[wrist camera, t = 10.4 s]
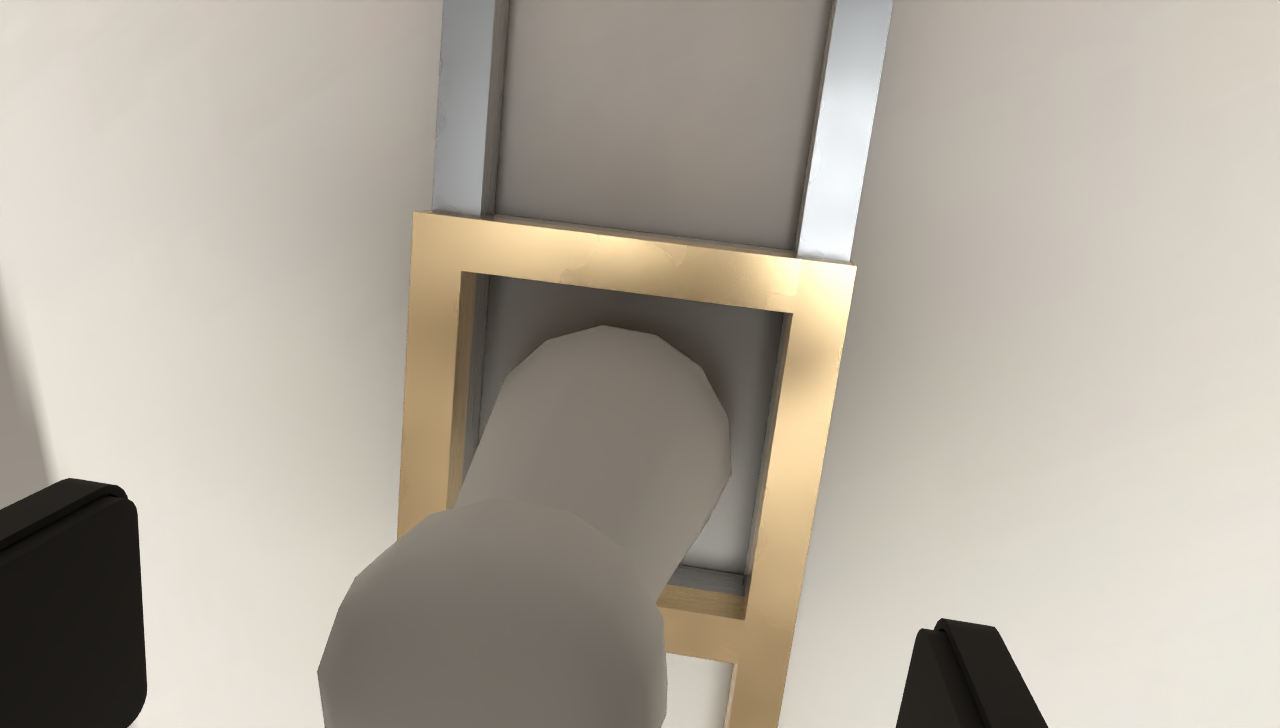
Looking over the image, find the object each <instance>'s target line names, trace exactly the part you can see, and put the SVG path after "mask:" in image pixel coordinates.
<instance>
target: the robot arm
mask: <svg viewBox="0 0 1280 728" xmlns="http://www.w3.org/2000/svg"><path fill="white" fill-rule="evenodd" d="M146 695H147V676H146V658H145V640H144V622H143V604H142V586H141V568H140V550H139V532H138V514H137V509H136V506H135V505H134V503H133V502H132V501H130V500H129V499H128V497H127V495H126V493H125V491H124V490H123V489H122V488H120V487H119V486H117V485H111V484H105V483H99V482H93V481H87V480H80V479H73V478H68V479H65V480H61V481H59V482H57V483H55V484H53V485H51V486H49V487H46V488H44V489H42V490H40V491H38V492H36V493H34V494H32V495H30V496H28V497H26V498H24V499H22V500H20V501H18V502H15V503H14V504H11V505H9V506H7V507H5V508H3V509H1V510H0V728H127V727H129V726H130V725H131V724H132V723H133V721H134V720H135V719H136V718H137V716H138V715H139V713H140V712H141V710H142V707H143V705H144V703H145V699H146ZM896 728H1048V726H1047V724H1046V722H1045V720H1044V718H1043V716H1042V715H1041V713H1040V711H1039V709H1038V707H1037V705H1036V703H1035V701H1034V699H1033V697H1032V695H1031V693H1030V691H1029V690H1028V688H1027V686H1026V684H1025V682H1024V680H1023V678H1022V676H1021V674H1020V672H1019V670H1018V668H1017V666H1016V665H1015V663H1014V661H1013V659H1012V657H1011V655H1010V653H1009V651H1008V649H1007V647H1006V645H1005V643H1004V641H1003V640H1002V638H1001V636H1000V634H999V632H998V631H997V629H996V628H995V627H992V626H987V625H981V624H975V623H968V622H962V621H956V620H950V619H944V618H941V619H940V620H939V621H938V622H937V624H936V626H935V628H934V630H929V629H923V628H922V629H920V630H919V632H918V634H917V636H916V640H915V644H914V648H913V653H912V657H911V662H910V666H909V671H908V675H907V680H906V684H905V689H904V693H903V698H902V702H901V707H900V711H899V716H898V720H897V724H896Z"/></svg>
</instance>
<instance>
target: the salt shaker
mask: <svg viewBox="0 0 1280 728" xmlns="http://www.w3.org/2000/svg"><path fill="white" fill-rule="evenodd" d="M730 475H731V455H730V433H729V418H728V416H727V415H726V413H725V411H724V409H723V407H722V405H721V403H720V401H719V399H718V398H717V396H716V394H715V392H714V390H713V388H712V386H711V384H710V383H709V381H708V379H707V377H706V375H705V373H704V371H703V369H702V368H701V366H699V365H698V364H697V363H695V362H694V361H692V360H691V359H690V358H688V357H687V356H685V355H684V354H683V353H681V352H680V351H679V350H677V349H676V348H674V347H673V346H672V345H670V344H669V343H667V342H666V341H665V340H663V339H662V338H661V337H659V336H658V335H655V334H650V333H645V332H640V331H634V330H629V329H624V328H619V327H613V326H608V325H601V326H597V327H593V328H589V329H586V330H582V331H578V332H575V333H571V334H567V335H564V336H560V337H556V338H552V339H549V340H546V341H545V342H544V343H543V344H542V345H540V346H539V347H538V348H537V349H536V350H535V351H534V352H532V353H531V354H530V355H529V356H528V357H527V358H526V359H525V360H523V361H522V362H521V363H520V364H519V365H518V366H517V367H515V368H514V369H513V370H512V371H511V372H510V373H509V374H508V375H506V377H505V380H504V382H503V385H502V387H501V390H500V392H499V395H498V397H497V400H496V402H495V405H494V407H493V410H492V412H491V415H490V418H489V420H488V423H487V425H486V428H485V430H484V433H483V435H482V438H481V440H480V443H479V445H478V448H477V450H476V453H475V455H474V458H473V460H472V463H471V465H470V468H469V470H468V473H467V475H466V478H465V480H464V483H463V485H462V488H461V490H460V493H459V495H458V498H457V500H456V503H455V505H454V508H453V509H449V510H445V511H441V512H437V513H433V514H429V515H427V516H426V517H425V518H424V519H423V520H421V521H420V522H419V523H418V524H417V525H416V526H414V527H413V528H412V529H411V530H410V531H408V532H407V533H406V534H405V535H404V536H402V537H401V538H400V539H399V540H398V541H396V542H395V543H394V544H393V545H392V546H391V547H389V548H388V549H387V550H386V551H385V552H383V553H382V554H381V555H380V556H379V557H378V558H376V559H375V560H374V561H373V562H372V563H371V564H370V565H369V566H368V567H366V568H365V569H364V570H363V571H362V572H361V573H360V574H359V575H358V576H356V577H355V579H354V581H353V583H352V585H351V587H350V588H349V590H348V592H347V594H346V596H345V598H344V600H343V602H342V603H341V605H340V607H339V609H338V612H337V615H336V618H335V621H334V624H333V627H332V630H331V633H330V635H329V638H328V641H327V644H326V647H325V650H324V653H323V656H322V659H321V662H320V665H319V668H318V671H317V674H318V681H319V688H320V695H321V702H322V710H323V717H324V724H325V728H661V726H662V723H663V721H664V719H665V717H666V709H667V668H666V653H665V638H664V623H663V616H662V614H661V612H660V610H659V608H658V606H657V605H656V603H655V602H656V601H657V599H658V597H659V596H660V594H661V592H662V591H663V589H664V587H665V585H666V584H667V582H668V580H669V579H670V577H671V575H672V574H673V572H674V571H675V569H676V568H677V566H678V565H679V563H680V562H681V560H682V559H683V557H684V556H685V554H686V553H687V551H688V550H689V548H690V547H691V545H692V544H693V542H694V541H695V539H696V538H697V536H698V535H699V533H700V532H701V530H702V529H703V527H704V526H705V524H706V523H707V521H708V520H709V518H710V515H711V513H712V511H713V509H714V507H715V505H716V503H717V501H718V499H719V497H720V495H721V493H722V491H723V489H724V487H725V485H726V483H727V481H728V479H729V477H730Z"/></svg>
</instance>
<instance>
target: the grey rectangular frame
mask: <svg viewBox="0 0 1280 728" xmlns="http://www.w3.org/2000/svg"><path fill="white" fill-rule="evenodd" d="M509 1H510V0H443V18H442V37H441V55H440V73H439V91H438V109H437V127H436V146H435V164H434V182H433V200H432V210H437V211H445V212H453V213H461V214H469V215H477V216H486V217H494V218H502V219H510V220H518V221H526V222H534V223H543V224H551V225H559V226H567V227H575V228H583V229H592V230H600V231H608V232H616V233H624V234H632V235H641V236H649V237H657V238H665V239H673V240H681V241H689V242H698V243H706V244H714V245H722V246H730V247H738V248H747V249H755V250H763V251H771V252H779V253H787V254H795V255H804V256H812V257H820V258H828V259H836V260H844V261H850V255H851V249H852V243H853V237H854V231H855V226H856V220H857V214H858V208H859V202H860V196H861V190H862V184H863V178H864V173H865V167H866V161H867V155H868V149H869V143H870V137H871V131H872V126H873V120H874V114H875V108H876V102H877V96H878V90H879V84H880V78H881V73H882V67H883V61H884V55H885V49H886V43H887V37H888V31H889V26H890V20H891V14H892V8H893V2H894V0H832V7H831V13H830V20H829V26H828V33H827V39H826V46H825V52H824V59H823V65H822V72H821V78H820V85H819V91H818V98H817V104H816V111H815V117H814V123H813V130H812V136H811V143H810V149H809V156H808V162H807V169H806V175H805V182H804V188H803V195H802V201H801V208H800V214H799V221H798V227H797V234H796V240H795V247H794V250H786V249H778V248H769V247H761V246H753V245H745V244H737V243H728V242H720V241H712V240H704V239H696V238H688V237H679V236H671V235H663V234H655V233H647V232H638V231H630V230H622V229H614V228H606V227H598V226H589V225H581V224H573V223H565V222H557V221H548V220H540V219H532V218H524V217H516V216H508V215H499V214H494V210H495V196H496V182H497V168H498V154H499V140H500V127H501V113H502V99H503V85H504V71H505V57H506V43H507V29H508V15H509ZM489 280H490V274H483V273H476V286H475V300H474V315H473V330H472V344H471V359H470V374H469V388H468V403H467V418H466V432H465V447H464V462H463V476H462V485H463V483H464V480H465V478H466V475H467V473H468V470H469V468H470V465H471V463H472V460H473V458H474V455H475V453H476V450H477V446H478V433H479V419H480V405H481V391H482V377H483V363H484V349H485V335H486V321H487V307H488V293H489ZM787 319H788V313H787V312H784V318H783V324H782V331H781V337H780V344H779V350H778V357H777V363H776V370H775V376H774V383H773V389H772V396H771V402H770V409H769V415H768V421H767V428H766V434H765V441H764V447H763V454H762V460H761V467H760V473H759V480H758V486H757V493H756V499H755V506H754V512H753V519H752V525H751V532H750V538H749V545H748V551H747V558H746V564H745V570H744V575H741V574H734V573H728V572H722V571H715V570H709V569H702V568H696V567H689V566H683V565H678V566H677V568H676V569H675V571H674V572H673V574H672V575H671V577H670V579H669V580H668V582H667V584H668V585H674V586H681V587H687V588H694V589H700V590H706V591H713V592H719V593H725V594H732V595H738V596H744V595H745V589H746V583H747V576H748V570H749V563H750V557H751V550H752V544H753V538H754V531H755V525H756V518H757V512H758V505H759V499H760V493H761V486H762V480H763V473H764V467H765V460H766V454H767V448H768V441H769V435H770V428H771V422H772V415H773V409H774V403H775V396H776V390H777V383H778V377H779V370H780V364H781V358H782V351H783V345H784V338H785V332H786V325H787Z"/></svg>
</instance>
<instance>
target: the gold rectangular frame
mask: <svg viewBox="0 0 1280 728" xmlns="http://www.w3.org/2000/svg"><path fill="white" fill-rule="evenodd" d="M856 268H857V266H856V265H854V264H853V263H851V262H850V261H844V260H836V259H828V258H820V257H812V256H804V255H795V254H787V253H779V252H771V251H763V250H755V249H747V248H738V247H730V246H722V245H714V244H706V243H698V242H689V241H681V240H673V239H665V238H657V237H649V236H641V235H632V234H624V233H616V232H608V231H600V230H592V229H583V228H575V227H567V226H559V225H551V224H543V223H534V222H526V221H518V220H510V219H502V218H494V217H486V216H477V215H469V214H461V213H453V212H445V211H437V210H426V211H416V212H413V229H412V249H411V269H410V289H409V309H408V329H407V349H406V369H405V389H404V409H403V429H402V449H401V469H400V489H399V509H398V529H397V541H398V540H399V539H400V538H401V537H402V536H404V535H405V534H406V533H407V532H408V531H410V530H411V529H412V528H413V527H414V526H416V525H417V524H418V523H419V522H420V521H421V520H423V519H424V518H425V517H426V516H427V515H429V514H433V513H437V512H441V511H445V510H449V509H453V508H454V505H455V503H456V500H457V498H458V495H459V493H460V490H461V488H462V476H463V462H464V447H465V432H466V418H467V403H468V388H469V374H470V359H471V344H472V330H473V315H474V300H475V286H476V273H483V274H491V275H498V276H506V277H514V278H522V279H530V280H537V281H545V282H553V283H561V284H569V285H576V286H584V287H592V288H600V289H607V290H615V291H623V292H631V293H639V294H646V295H654V296H662V297H670V298H678V299H685V300H693V301H701V302H709V303H716V304H724V305H732V306H740V307H748V308H755V309H763V310H771V311H779V312H787V313H788V319H787V325H786V332H785V338H784V345H783V351H782V358H781V364H780V370H779V377H778V383H777V390H776V396H775V403H774V409H773V415H772V422H771V428H770V435H769V441H768V448H767V454H766V460H765V467H764V473H763V480H762V486H761V493H760V499H759V505H758V512H757V518H756V525H755V531H754V538H753V544H752V550H751V557H750V563H749V570H748V576H747V583H746V589H745V595H744V596H738V595H732V594H725V593H719V592H713V591H706V590H700V589H694V588H687V587H681V586H674V585H668V584H666V585H665V587H664V589H663V591H662V592H661V594H660V596H659V597H658V599H657V601H656V602H655V603H656V605H657V606H658V608H659V610H660V612H661V614H662V616H663V623H664V638H665V652H666V653H672V654H678V655H685V656H691V657H697V658H703V659H709V660H715V661H721V662H727V663H733V664H734V666H733V673H732V679H731V685H730V692H729V698H728V705H727V711H726V718H725V724H724V728H777V727H778V721H779V715H780V710H781V704H782V698H783V692H784V686H785V681H786V675H787V669H788V663H789V657H790V652H791V646H792V640H793V634H794V628H795V623H796V617H797V611H798V605H799V599H800V594H801V588H802V582H803V576H804V570H805V565H806V559H807V553H808V547H809V541H810V535H811V530H812V524H813V518H814V512H815V506H816V501H817V495H818V489H819V483H820V477H821V472H822V466H823V460H824V454H825V448H826V443H827V437H828V431H829V425H830V419H831V414H832V408H833V402H834V396H835V390H836V385H837V379H838V373H839V367H840V361H841V356H842V350H843V344H844V338H845V332H846V327H847V321H848V315H849V309H850V303H851V298H852V292H853V286H854V280H855V274H856Z"/></svg>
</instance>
